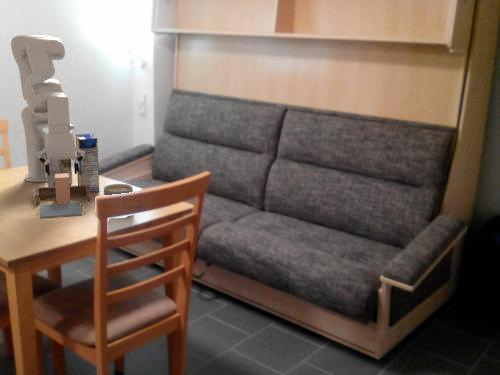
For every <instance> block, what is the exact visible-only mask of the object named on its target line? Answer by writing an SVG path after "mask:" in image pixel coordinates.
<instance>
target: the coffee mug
mask: <svg viewBox="0 0 500 375" xmlns="http://www.w3.org/2000/svg"><path fill="white" fill-rule="evenodd" d="M133 191H134V189H133V186H132V185H131V184H125V183H113V184H112V183H111V184H107V185H105V186H104V187H103V196H104V195H112V194H121V193H129V192H133ZM133 193H134V192H133Z"/></svg>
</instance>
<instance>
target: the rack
mask: <svg viewBox="0 0 500 375" xmlns="http://www.w3.org/2000/svg"><path fill="white" fill-rule="evenodd" d="M34 197H35V205H36V206H40V205H41V204H40V203H41V202H40V201H41V199H55V198H56V187H48V186H47V187H46V186H45V187H35V193H34ZM72 197H86V199H85V200H86V203H91V193H90V190H89V185H83V186H78V185H70V198H72Z"/></svg>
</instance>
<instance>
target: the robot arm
mask: <svg viewBox="0 0 500 375" xmlns="http://www.w3.org/2000/svg"><path fill="white" fill-rule="evenodd" d="M10 47H11V48H10V49H11V53H12V56H13V58H14V61H15V63H16V65H17V67H18V70H19V79H20V86H21V93H22V97H23V100H25V101H26V104H27V106H26V107H24V108H23V109H22V111H21V120H22V125H23V129H24V130H23V131H24V135H25V136H24V137H25V147H26V161H27V162H26V163H27V171H28V172H27V175H24V180H25V181H27V182H30V183H44V182H45V183H46V182H47V173H48V175H50V169H49V162H50V160H62V159H71V161H73V165H74V166H73V167H74V174H75V175H77V171H79V170H78V163H79V162H80V161H81V160H82V159H83V157H84V154H85V151H84V150H81V149H79V148H77V147H76V143H75V138H74V134H73V131H71V130H74V129H75V125H72V124H71V121H70V120H71V119H70V104H69V98H68V96H67V95H66V94H64V92H63V87H62V84H61V83H60V81H59V80H58V79H53V77H54V76H55V74H56V69H55V64H54V62H53V61H61V60H63V59H64V58H65V57H66V56H65V55H66V48H65V45H64V43H63V41H62V40H61V39H60V38H59V37H56V36H52V35H36V34H34V35H32V34H21V35H16V36H13V37H12V39H11V41H10ZM51 78H52V79H51ZM47 128H48V132H45V131H44V130H43V129H47ZM76 151H77V152H79V153H81V154H80V156H79V157H78V158H77V156H76ZM45 152H46V154H47V159H46V155H45Z"/></svg>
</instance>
